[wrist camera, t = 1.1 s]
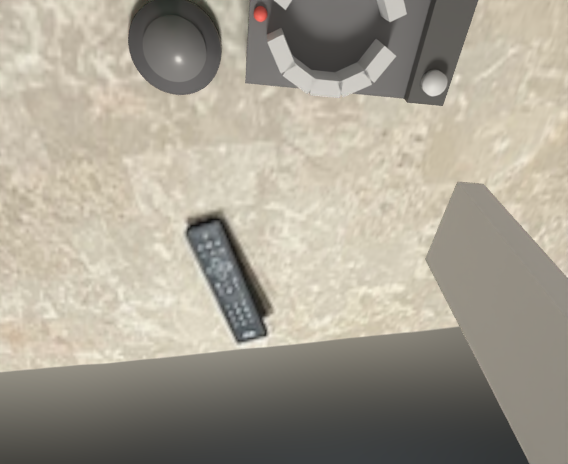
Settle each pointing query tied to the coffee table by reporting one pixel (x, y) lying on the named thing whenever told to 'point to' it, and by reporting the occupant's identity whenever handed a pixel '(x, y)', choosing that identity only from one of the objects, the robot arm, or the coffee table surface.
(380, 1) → the camera body
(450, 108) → the coffee table surface
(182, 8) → the lens cap
